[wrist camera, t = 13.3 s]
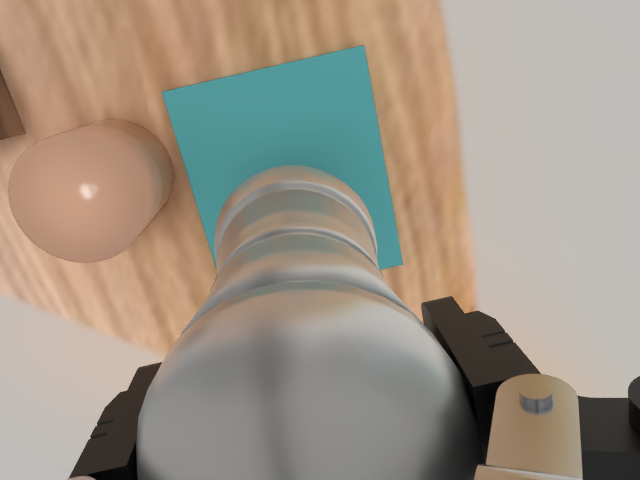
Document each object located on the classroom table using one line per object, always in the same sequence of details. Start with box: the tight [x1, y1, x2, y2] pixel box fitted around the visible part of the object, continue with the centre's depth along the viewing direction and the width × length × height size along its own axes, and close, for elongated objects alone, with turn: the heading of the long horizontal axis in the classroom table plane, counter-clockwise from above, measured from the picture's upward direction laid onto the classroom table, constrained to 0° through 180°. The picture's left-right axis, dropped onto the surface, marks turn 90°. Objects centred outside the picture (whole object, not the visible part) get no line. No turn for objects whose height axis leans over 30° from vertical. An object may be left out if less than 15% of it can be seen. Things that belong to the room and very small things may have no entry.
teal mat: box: [162, 45, 403, 270], centre depth 32 cm, size 14×12×1 cm
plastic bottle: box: [136, 165, 483, 480], centre depth 14 cm, size 6×7×20 cm
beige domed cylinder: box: [8, 119, 174, 263], centre depth 28 cm, size 6×6×7 cm
